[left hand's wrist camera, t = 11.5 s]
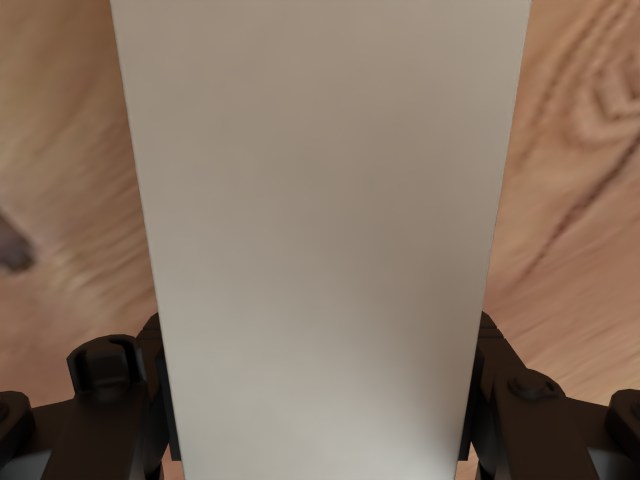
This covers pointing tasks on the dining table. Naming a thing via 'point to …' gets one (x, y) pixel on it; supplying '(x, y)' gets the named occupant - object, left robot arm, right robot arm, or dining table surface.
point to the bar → (320, 222)
